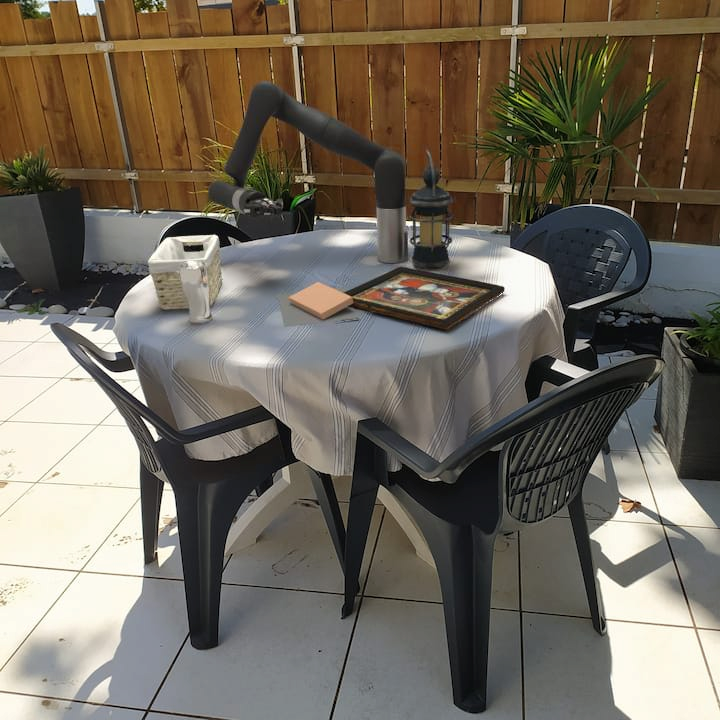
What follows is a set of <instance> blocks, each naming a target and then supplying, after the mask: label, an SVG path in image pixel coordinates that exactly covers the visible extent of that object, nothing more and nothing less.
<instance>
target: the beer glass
mask: <svg viewBox="0 0 720 720" xmlns="http://www.w3.org/2000/svg"><path fill="white" fill-rule="evenodd" d="M179 269H180V280H181V285H182V289H183V292H184V295H185V298H186V301H187V304H188V307H189V309H188V314H189V315H188V321H189V323H191V324H196V323H198V324H199V323H200V324H205V322H206V323H208V322H210V321H212V319H213V318H214V317H213V314H212V311H211V308H210V307H211V306H210V307H209V279H208V273H207V269H206V265H205V262H203V261H189V262H184V263H182V264H180V265H179ZM198 324H197V325H198Z"/></svg>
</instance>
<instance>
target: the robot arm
mask: <svg viewBox="0 0 720 720" xmlns="http://www.w3.org/2000/svg"><path fill="white" fill-rule="evenodd" d="M271 117H272V118H274V119H276V120H279V121H281V122H283V123H285V124H287V125H289V126H291V127H292V128H294V129H296V130H297V131H298V132H299V133H301V134H302V135H303V136H304V137H305V138H307V139H308V140H310V141H311V142H313V143H315V144H316V145H318V146H319V147H321V148H323V149H325V150H326V151H329V152H331V153H332V154H335V155H338V156H340V157H344V158H347V159H350V160H354V161H356V162H359V163H360V164H362V165H364V166H365V167H366V168H369V169H370V170H371V171H373V172H374V177H373V178H374V194H375V196H374V197H375V202H376V204H375V205H376V232H377V233H376V235H377V236H376V240H377V260H378V261H379V262H381V263H385V264H398V263H401V262H404V261H409V232H408V230H407V209H406V208H407V203H406V202H407V197H406V170H407V164H406V163H407V162H406V160H405V158H404V157H403V155H401V154H400V153H399V152H397V151H394V150H393V149H390V148H387V147H385V146H382V145H380V144H378V143H377V142H374V141H372V140H370V139H369V138H367V137H365V136H364V135H362V134H361V133H360V132H358V131H357V130H355V129H353V128H352V127H351V126H349V125H347V124H346V123H344V122H343V121H340V120H339V119H337V118H335V117H333V116H331V115H330V114H328V113H325V112H323V111H321V110H320V109H317V108H314V107H312V106H309V105H306V104H304V103H302V102H301V101H298V100H297V99H296V98H295V97H293V96H291V95H290V94H288V93H287V92H286V91H284V90H283V89H282V88H281V87H280V86H278V85H277V84H275V83H273V82H272V81H269V80H262V81H259V82H257V83H256V84H255V85H254V86H253V87H252V89H251V92H250V96H249V101H248V105H247V108H246V112H245V116H244V119H243V122H242V124H241V125H242V126H241V127H240V130H239V133H238V135H237V138H236V140H235V143H234V144H233V146H232V150H231V152H230V153H229V156H228V159H227V161H226V163H225V165H224V172H225V173H226V175H228V176H229V177H230V178H232V179H233V184H230V183H227V182H225V181H222V180H215V181H214V182H211V183H210V185H209V187H208V190H207V191H208V193H207V194H208V198H209V199H210V201H211V202H213V203H215V204H216V205H219V206H222V207H223V208H224V207H225V208H227V209H230V210H233V211H237V212H239V213H241V214H242V215H244V216H248V217H252V218H254V219H256V218H261V217H262V216H265V215H272V216H281V215H282V213H283V208H284V202H283V198H281V197H280V198H278V199H276V200H275V201H274V200H273V199H271V198H270V199H269V198H268V197H267V196H266V194H264V192H261V191H258V190H255V189H252V188H247V187H246V186H245V185H246V181H247V176H248V173H249V171H250V170H251V167H252V164H253V162H254V160H255V157H256V155H257V150H258V148H259V147H258V146H259V143H260V140H261V137H262V134H263V131H264V130H265V127H266V125H267V123H268V121H270V118H271ZM245 187H246V188H245Z"/></svg>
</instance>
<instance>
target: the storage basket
mask: <svg viewBox="0 0 720 720" xmlns="http://www.w3.org/2000/svg"><path fill="white" fill-rule="evenodd" d="M199 245H200V246H202V245H203V250H201V251H185V250H184V247H187V246H199ZM220 245H221V244H220V239H219V236H218V235H216V234H209V235H208V234H206V235H187V236H186V235H184V236H183V235H182V236H175V237H174V236H172V237H171V236H170V237H166V238H165V239H164V240H162V242H161V243H160V244H159V246H157V248H156V249H155V251H154V252H153V253H152V255H151V256H150V258H149V259H148V261H147V264H148V268H149V269H148V270H149V271H148V272H149V274H150V276H151V279H152V282H153V285H154V289H155V294H156V296H157V298H158V300H159V301H158V302H159V304H160V308H161V309H162V310H166V311H168V310H187V309H188V310H189V307H188V304H187V301H186V298H185V295H184V292H183V289H182V285H181V280H180V269H179V265H180V264H182V263H184V262H189V261H203V262H205V265H206V269H207V273H208V279H209V307H213V304H214V303H215V300H216V297H217V295H219V294H218V293H219V290H220V288H221V286H222V282H223V280H224V278H223V275H222V266H221V265H222V264H221V261H222V260H221V256H220V255H221V251H220V250H221V248H220V247H221V246H220Z"/></svg>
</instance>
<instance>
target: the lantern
mask: <svg viewBox="0 0 720 720" xmlns="http://www.w3.org/2000/svg"><path fill="white" fill-rule="evenodd" d="M425 152H426V156H427V166H426V168H425V169H424V170H423V173H422V180H423V182H424V183H425V186H422V187H421V188H419V189H418V190H417V191H414V192H413V193H412V194H411V196H410V197H409V203H410V205H411V206H412V207H414V208H413V209H412V213H410V214H409V216H408V218H409V219H410V220H411V221H412V237H410V239H408V243H410V244H411V245H413V246H414V247H413V253H412V254H413V255H412V256H411V261H412V264H413V265H415V266H417V267H420V268H424V269H438V268H440V267H444V266H445V265H447V264H449V263H450V262H451V260H450V257H449V251H448V247H449V246H450V244H451V243H453V238H452V237H451V236H450V222H451V221H450V220H451V219H453V217H454V214H453V213H451V212H449V209H448V207H449V206H450V205H452V204H453V203H454V199H453V196H451V194H450V192H449V191H447V190H444V188H442V187H441V186H438V185H437V184H439V181H440V178H441V177H440V171H439V170H438V168H437V167H436V166H435V165H434V161H433V158H432V155H431V153H430V151H429V149H425ZM443 215H445V217H444V218H443ZM417 216H419V218H417ZM417 222H418V223H419V234H417ZM443 222H445V234H443ZM416 234H417V235H416ZM418 238H419V241H417V240H416V239H418ZM443 238H445V239H444V240H443Z"/></svg>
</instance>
